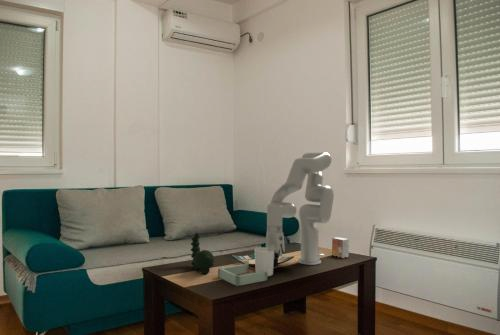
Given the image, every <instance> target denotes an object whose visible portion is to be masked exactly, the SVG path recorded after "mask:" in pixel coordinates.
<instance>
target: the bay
mask: <svg viewBox="0 0 500 335" xmlns="http://www.w3.org/2000/svg"><path fill="white" fill-rule="evenodd" d="M217 276H218V278H220V279H222V280H224V281H225V282H228V283H230V284H231V285H234V286H236V287H240V286H244V285H249V284H250V285H251V284H254V283H260V282H265V281H268V276H267V267H266V266H265V267H263V271H261V272H256V271H255V272H249V259H244V263H243V264H237V265H231V266H224V267H223V266H222V267H218V268H217Z"/></svg>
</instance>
